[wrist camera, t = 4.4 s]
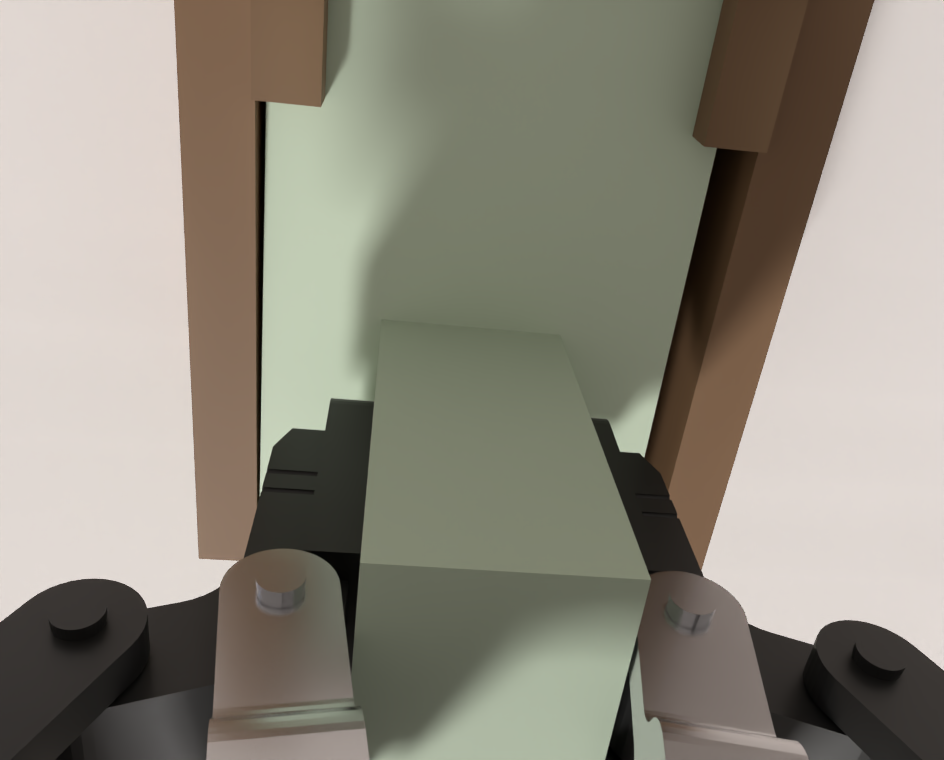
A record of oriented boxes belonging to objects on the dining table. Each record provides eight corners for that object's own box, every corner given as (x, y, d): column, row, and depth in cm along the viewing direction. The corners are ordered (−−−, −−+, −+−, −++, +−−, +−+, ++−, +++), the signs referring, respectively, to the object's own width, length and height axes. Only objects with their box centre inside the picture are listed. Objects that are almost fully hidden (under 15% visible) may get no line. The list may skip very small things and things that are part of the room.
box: (791, -290, 15) (1007, -396, 9) (629, 416, 22) (701, 596, 16) (250, -374, 14) (141, -545, 9) (255, 389, 21) (195, 570, 15)
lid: (743, -113, 13) (1109, -178, 6) (561, 713, 19) (638, 1109, 13) (286, -179, 12) (124, -334, 5) (266, 700, 19) (185, 1111, 12)
